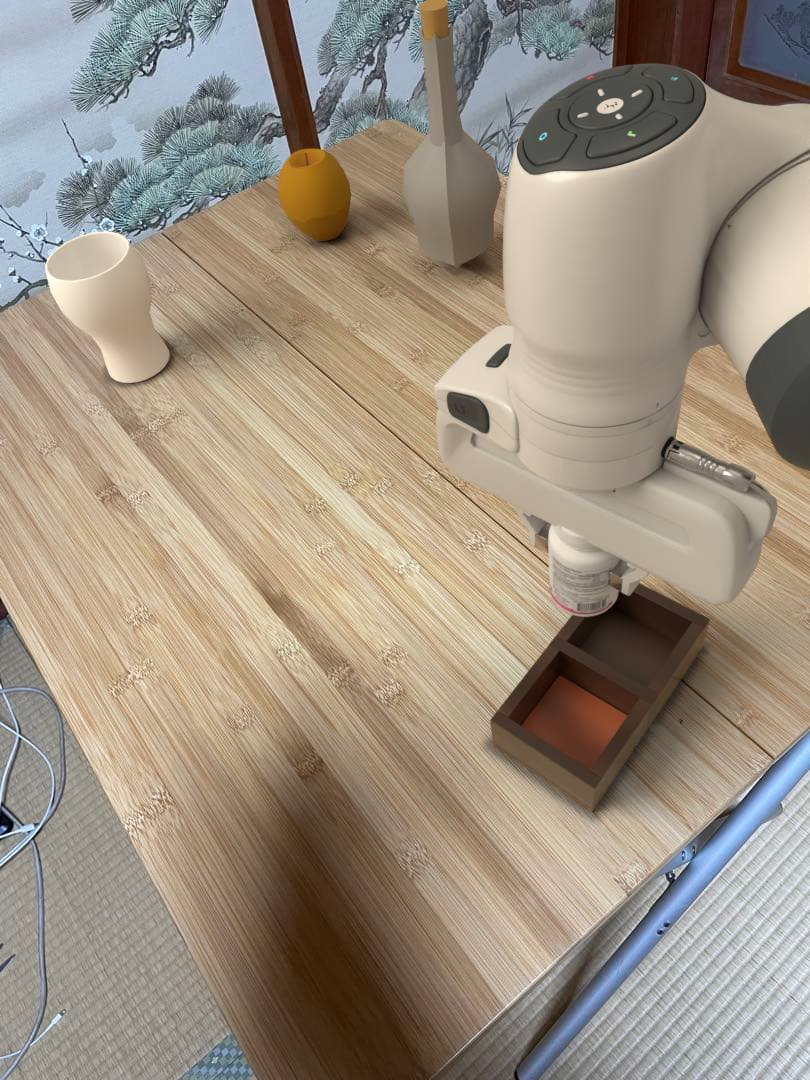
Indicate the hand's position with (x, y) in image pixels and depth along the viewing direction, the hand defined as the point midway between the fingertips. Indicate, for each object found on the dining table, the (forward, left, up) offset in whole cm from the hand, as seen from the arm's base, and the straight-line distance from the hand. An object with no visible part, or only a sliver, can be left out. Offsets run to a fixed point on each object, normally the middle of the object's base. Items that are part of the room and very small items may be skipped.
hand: (583, 562), depth 55 cm
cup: (+67, -7, -17) cm, 70 cm away
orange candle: (+65, -39, -17) cm, 78 cm away
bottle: (+44, -42, -17) cm, 63 cm away
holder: (-2, 0, -17) cm, 17 cm away
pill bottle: (0, 0, -3) cm, 3 cm away
